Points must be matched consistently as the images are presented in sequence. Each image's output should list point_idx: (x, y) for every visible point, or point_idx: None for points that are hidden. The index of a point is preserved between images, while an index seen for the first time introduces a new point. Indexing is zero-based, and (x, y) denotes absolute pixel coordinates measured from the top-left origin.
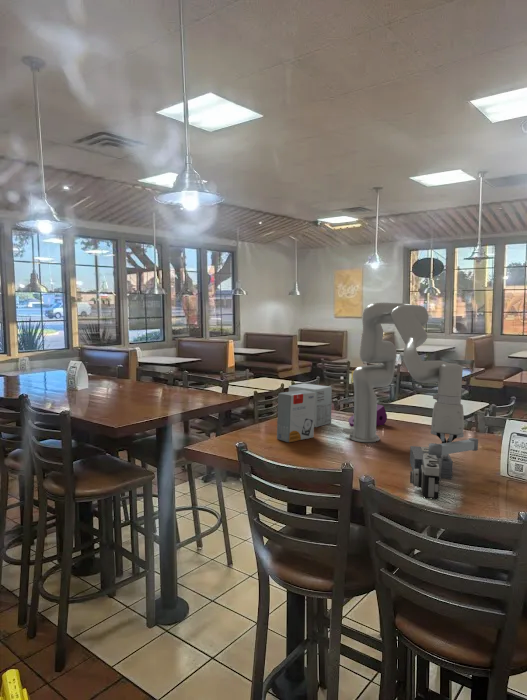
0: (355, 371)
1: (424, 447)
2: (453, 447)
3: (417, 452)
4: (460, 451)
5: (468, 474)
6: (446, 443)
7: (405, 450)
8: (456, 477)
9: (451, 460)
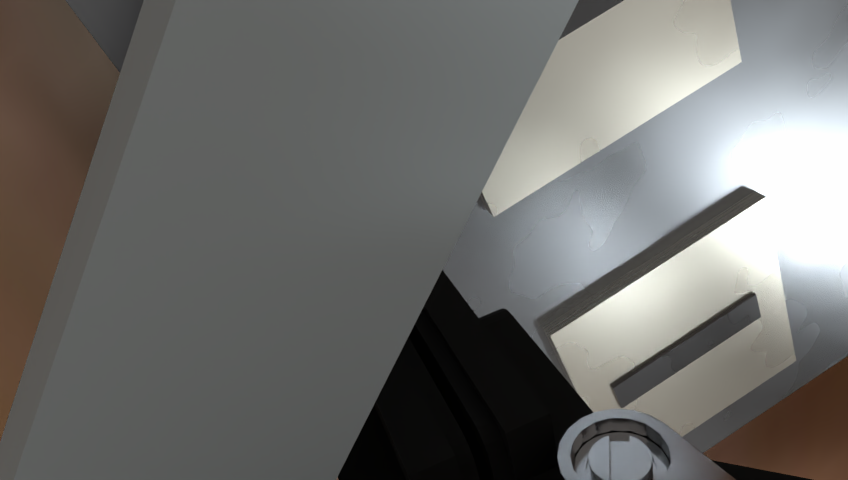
0: None
1: (751, 377)
2: (82, 237)
3: (823, 78)
4: (7, 431)
5: (11, 331)
6: (393, 192)
7: (794, 473)
8: (63, 71)
9: (101, 14)
